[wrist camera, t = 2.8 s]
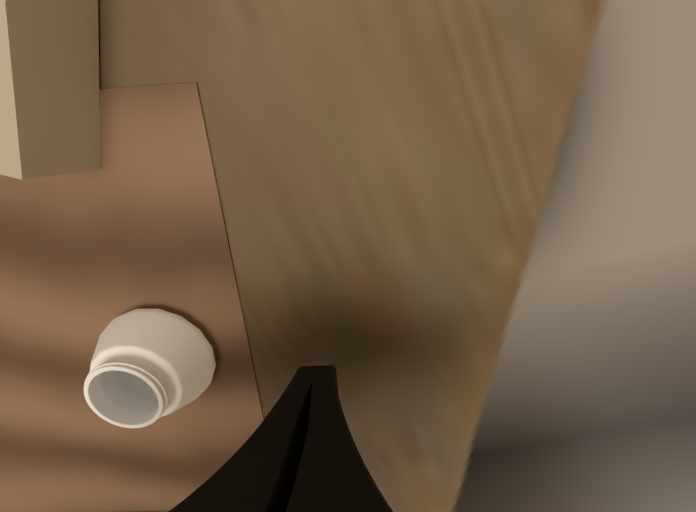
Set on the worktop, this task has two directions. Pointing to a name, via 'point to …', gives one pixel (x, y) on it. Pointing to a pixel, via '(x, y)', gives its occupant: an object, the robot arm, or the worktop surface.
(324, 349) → the worktop surface
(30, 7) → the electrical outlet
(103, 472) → the wooden board
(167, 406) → the lidless jar
